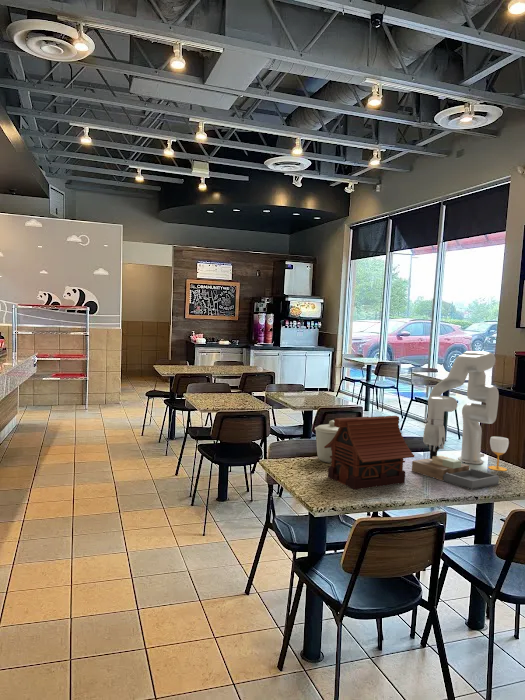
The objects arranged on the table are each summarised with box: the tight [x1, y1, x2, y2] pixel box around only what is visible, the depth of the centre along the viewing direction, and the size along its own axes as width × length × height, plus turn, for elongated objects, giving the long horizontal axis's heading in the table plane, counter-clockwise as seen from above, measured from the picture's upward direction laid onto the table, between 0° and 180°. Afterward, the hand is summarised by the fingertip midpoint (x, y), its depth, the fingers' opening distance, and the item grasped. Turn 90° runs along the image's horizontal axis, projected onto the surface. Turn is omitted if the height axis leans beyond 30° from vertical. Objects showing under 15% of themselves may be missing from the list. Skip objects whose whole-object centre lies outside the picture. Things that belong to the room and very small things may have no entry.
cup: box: [487, 435, 510, 472], centre depth 268 cm, size 9×9×16 cm
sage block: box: [443, 457, 462, 469], centre depth 249 cm, size 6×6×3 cm
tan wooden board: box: [411, 457, 470, 482], centre depth 254 cm, size 20×18×5 cm
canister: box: [314, 419, 339, 464], centre depth 269 cm, size 18×18×21 cm
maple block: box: [432, 455, 450, 465], centre depth 254 cm, size 6×6×3 cm
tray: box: [442, 468, 500, 491], centre depth 240 cm, size 20×15×4 cm
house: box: [324, 415, 415, 490], centre depth 235 cm, size 35×28×29 cm
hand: (433, 458), depth 258 cm, fingers closed
